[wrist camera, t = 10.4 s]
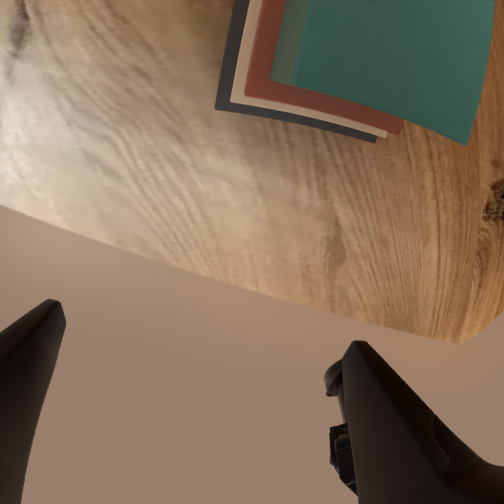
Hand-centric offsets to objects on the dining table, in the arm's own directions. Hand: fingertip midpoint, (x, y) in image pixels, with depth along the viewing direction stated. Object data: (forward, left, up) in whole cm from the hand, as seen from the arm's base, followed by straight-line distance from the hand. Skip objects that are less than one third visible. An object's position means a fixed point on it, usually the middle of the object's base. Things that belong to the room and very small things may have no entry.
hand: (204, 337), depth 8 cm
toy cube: (+9, -3, -6) cm, 11 cm away
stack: (+9, -3, -13) cm, 16 cm away
